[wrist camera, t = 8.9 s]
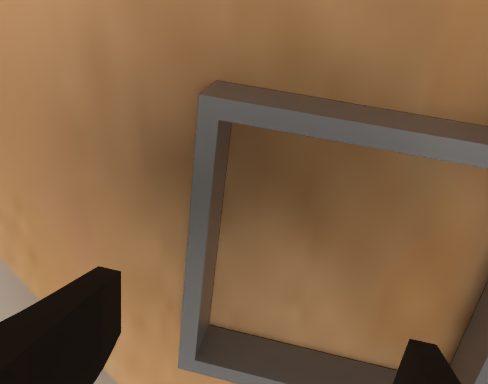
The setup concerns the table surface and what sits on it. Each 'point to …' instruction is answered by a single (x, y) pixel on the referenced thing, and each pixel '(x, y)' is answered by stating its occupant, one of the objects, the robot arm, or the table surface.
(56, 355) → the robot arm
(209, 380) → the table surface
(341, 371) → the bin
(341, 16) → the table surface
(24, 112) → the table surface
